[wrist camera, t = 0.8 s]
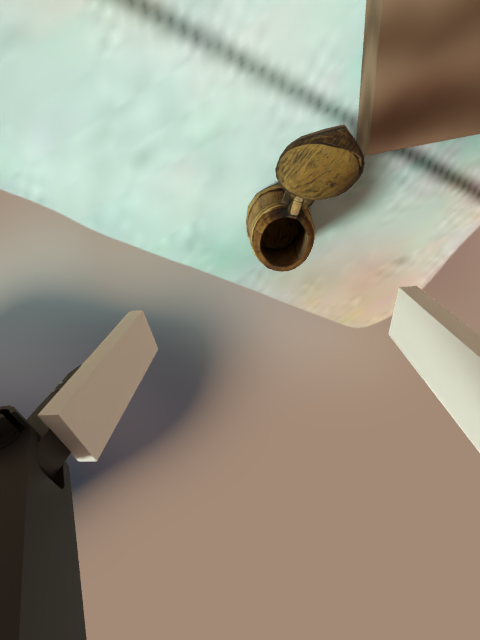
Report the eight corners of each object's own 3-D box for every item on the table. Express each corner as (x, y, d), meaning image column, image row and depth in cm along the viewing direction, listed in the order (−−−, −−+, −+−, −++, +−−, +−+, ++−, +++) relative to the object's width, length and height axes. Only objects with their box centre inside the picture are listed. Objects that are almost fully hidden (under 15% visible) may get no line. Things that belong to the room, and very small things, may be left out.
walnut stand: (373, -105, 20) (397, -160, 17) (641, -195, 17) (733, -281, 14) (355, 156, 29) (368, 155, 26) (527, 123, 27) (566, 117, 23)
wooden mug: (336, 155, 29) (418, 145, 14) (296, 260, 37) (322, 327, 22) (265, 134, 29) (273, 100, 14) (238, 245, 36) (224, 303, 21)
